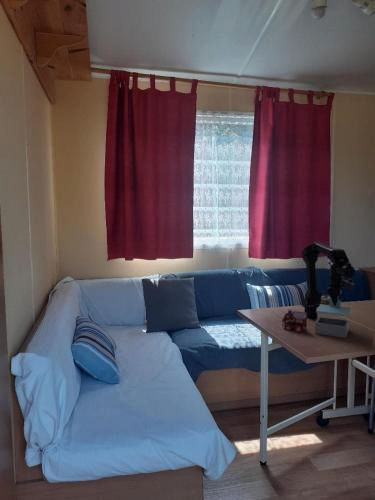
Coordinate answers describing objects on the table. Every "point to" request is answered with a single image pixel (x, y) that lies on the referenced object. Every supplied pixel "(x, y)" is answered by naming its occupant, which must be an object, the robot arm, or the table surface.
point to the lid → (334, 309)
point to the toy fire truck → (295, 321)
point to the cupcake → (325, 299)
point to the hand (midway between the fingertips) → (335, 304)
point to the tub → (331, 327)
